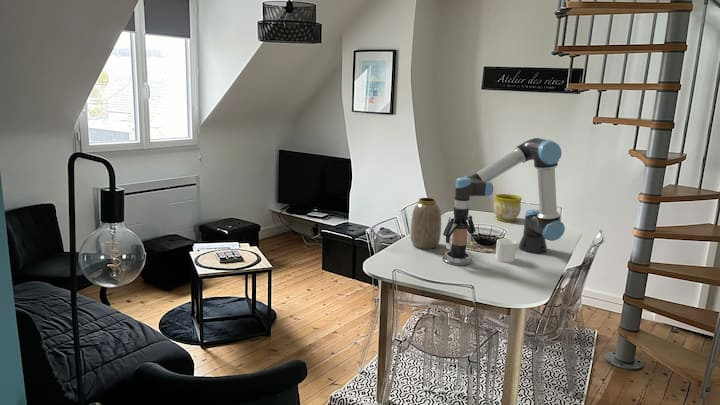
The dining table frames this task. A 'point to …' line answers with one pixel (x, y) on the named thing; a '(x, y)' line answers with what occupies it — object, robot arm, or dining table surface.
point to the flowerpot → (507, 207)
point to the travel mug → (459, 241)
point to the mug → (505, 250)
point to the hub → (457, 259)
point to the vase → (426, 224)
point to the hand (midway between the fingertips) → (458, 246)
